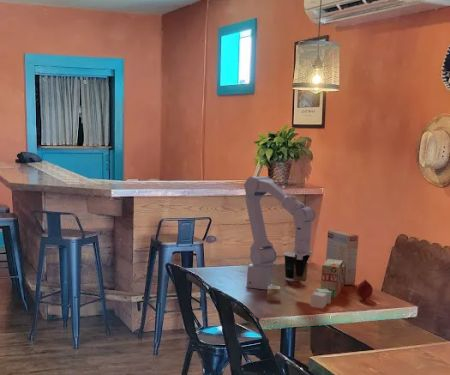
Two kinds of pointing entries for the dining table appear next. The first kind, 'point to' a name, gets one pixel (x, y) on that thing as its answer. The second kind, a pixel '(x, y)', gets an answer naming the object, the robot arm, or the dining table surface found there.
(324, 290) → the sage block
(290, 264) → the dixie cup
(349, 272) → the cracker box
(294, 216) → the robot arm
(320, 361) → the dining table surface
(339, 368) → the dining table surface
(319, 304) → the white block
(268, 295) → the maple block
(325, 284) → the stack of blocks
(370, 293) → the onion
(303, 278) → the walnut bar
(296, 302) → the dining table surface
